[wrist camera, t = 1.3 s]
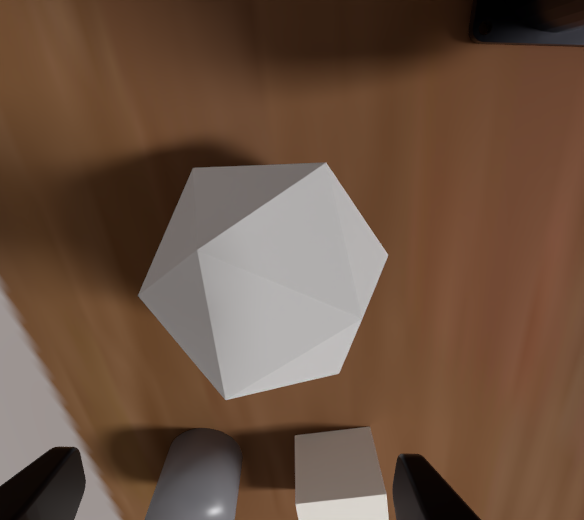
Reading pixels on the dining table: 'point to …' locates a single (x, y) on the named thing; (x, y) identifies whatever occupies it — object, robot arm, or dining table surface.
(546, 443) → the dining table surface
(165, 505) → the grey rounded piece
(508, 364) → the dining table surface
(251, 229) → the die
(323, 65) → the dining table surface
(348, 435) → the cream block
